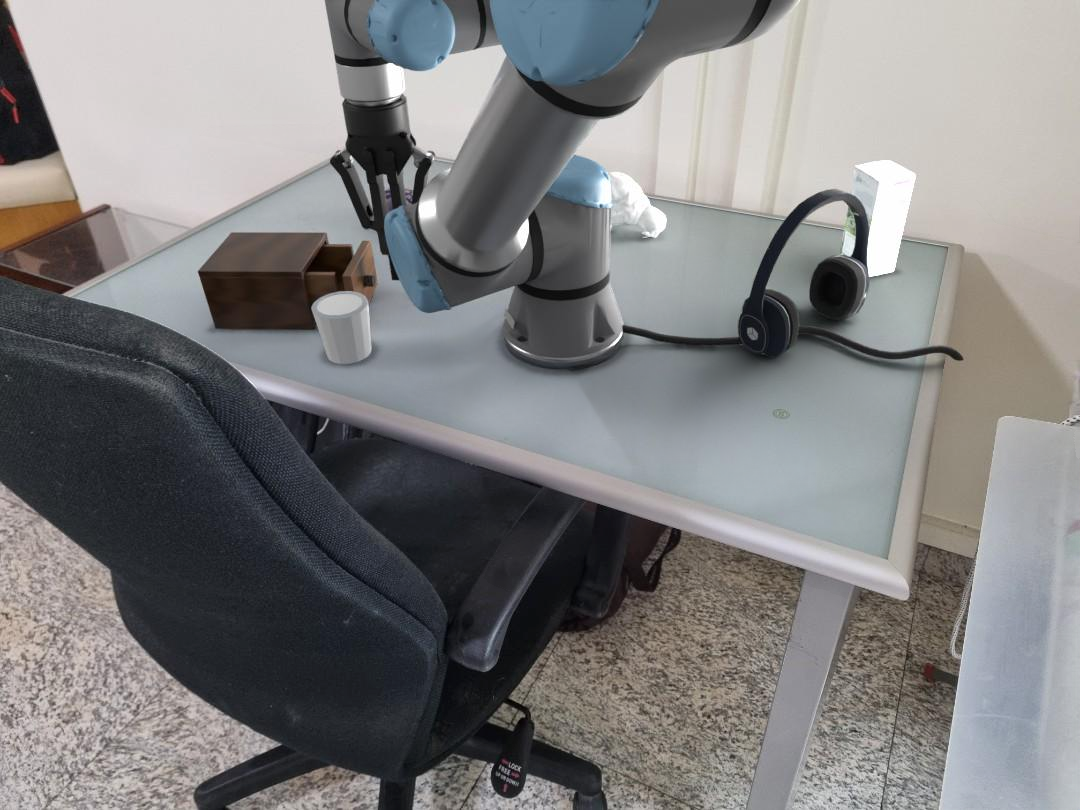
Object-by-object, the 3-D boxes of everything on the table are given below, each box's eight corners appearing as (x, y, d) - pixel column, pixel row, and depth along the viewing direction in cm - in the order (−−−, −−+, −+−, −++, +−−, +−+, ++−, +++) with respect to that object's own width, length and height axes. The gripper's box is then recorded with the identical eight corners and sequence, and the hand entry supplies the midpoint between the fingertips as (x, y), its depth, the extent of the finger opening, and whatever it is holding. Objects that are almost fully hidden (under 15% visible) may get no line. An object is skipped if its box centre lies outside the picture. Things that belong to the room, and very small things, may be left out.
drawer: (386, 284, 119) (379, 240, 115) (368, 322, 111) (360, 276, 106) (292, 283, 120) (282, 240, 116) (267, 321, 112) (255, 275, 108)
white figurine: (616, 162, 132) (680, 186, 126) (611, 212, 137) (672, 237, 132) (591, 175, 128) (656, 200, 122) (587, 225, 134) (649, 252, 128)
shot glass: (365, 369, 103) (355, 320, 99) (313, 364, 104) (301, 315, 100) (384, 339, 109) (376, 291, 104) (334, 335, 110) (324, 288, 106)
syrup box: (895, 272, 118) (919, 172, 110) (859, 279, 117) (880, 179, 108) (870, 255, 123) (891, 158, 114) (835, 262, 121) (854, 164, 113)
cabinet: (337, 287, 120) (326, 232, 115) (313, 330, 111) (300, 271, 106) (246, 287, 122) (231, 232, 117) (215, 328, 112) (197, 271, 107)
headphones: (827, 296, 113) (852, 165, 103) (871, 316, 109) (902, 180, 98) (725, 349, 104) (741, 210, 93) (769, 372, 99) (791, 229, 89)
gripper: (434, 86, 100) (452, 263, 115) (329, 86, 102) (359, 261, 116) (422, 106, 95) (442, 290, 109) (309, 106, 96) (344, 288, 110)
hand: (399, 275), depth 112 cm, fingers closed
